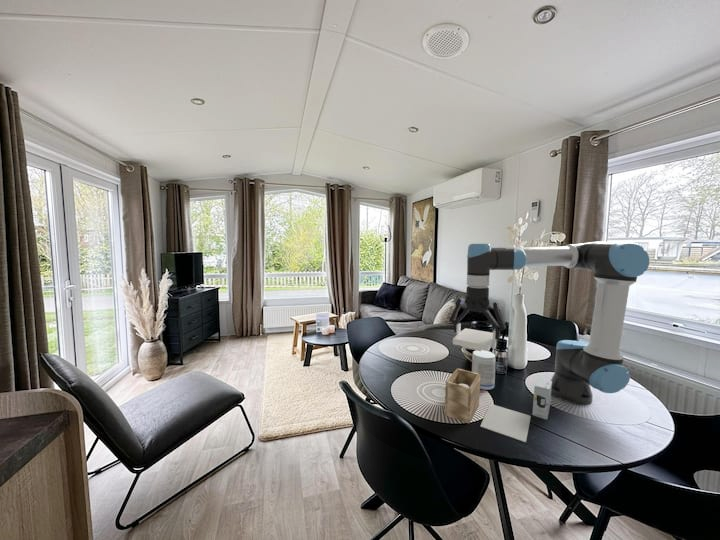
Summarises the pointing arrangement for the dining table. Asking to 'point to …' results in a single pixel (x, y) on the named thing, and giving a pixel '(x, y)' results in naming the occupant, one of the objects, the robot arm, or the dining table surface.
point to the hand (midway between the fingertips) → (475, 344)
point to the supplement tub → (484, 368)
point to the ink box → (542, 398)
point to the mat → (506, 422)
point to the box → (462, 395)
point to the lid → (474, 339)
